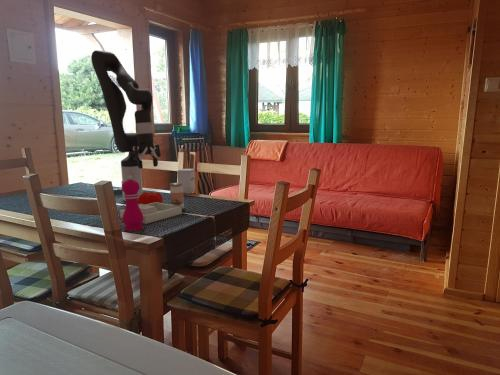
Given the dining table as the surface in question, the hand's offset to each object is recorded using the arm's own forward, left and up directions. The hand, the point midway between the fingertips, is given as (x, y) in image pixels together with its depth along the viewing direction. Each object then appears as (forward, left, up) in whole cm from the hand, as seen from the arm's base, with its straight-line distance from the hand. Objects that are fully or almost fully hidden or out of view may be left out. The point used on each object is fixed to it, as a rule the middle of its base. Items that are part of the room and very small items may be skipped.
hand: (148, 167), depth 175 cm
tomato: (+7, -5, -18) cm, 19 cm away
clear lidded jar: (+24, -4, -17) cm, 30 cm away
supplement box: (-5, +29, -17) cm, 34 cm away
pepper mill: (+33, -33, -17) cm, 50 cm away
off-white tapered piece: (+24, -22, -16) cm, 36 cm away
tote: (+24, -18, -17) cm, 34 cm away
